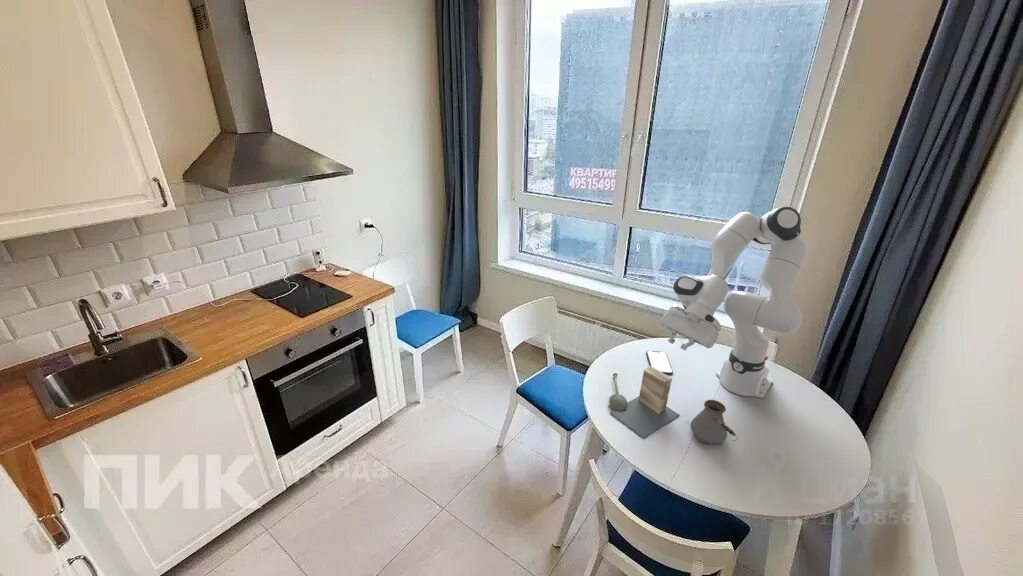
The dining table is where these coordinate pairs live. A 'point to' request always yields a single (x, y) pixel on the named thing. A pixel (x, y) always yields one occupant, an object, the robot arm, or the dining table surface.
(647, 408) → the charcoal rubber mat
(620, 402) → the soupspoon
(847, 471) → the dining table surface
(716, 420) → the coffee pot
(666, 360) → the smartphone
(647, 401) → the brown wooden block
